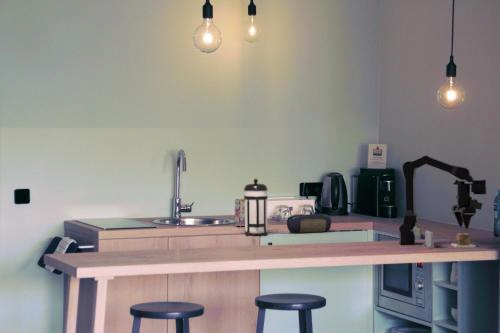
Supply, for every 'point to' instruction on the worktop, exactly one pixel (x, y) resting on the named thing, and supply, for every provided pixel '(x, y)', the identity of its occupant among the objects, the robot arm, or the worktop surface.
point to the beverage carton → (417, 232)
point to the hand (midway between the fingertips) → (463, 227)
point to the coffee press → (255, 208)
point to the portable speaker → (309, 223)
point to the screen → (429, 239)
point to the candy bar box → (239, 210)
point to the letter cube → (462, 239)
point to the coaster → (463, 246)
